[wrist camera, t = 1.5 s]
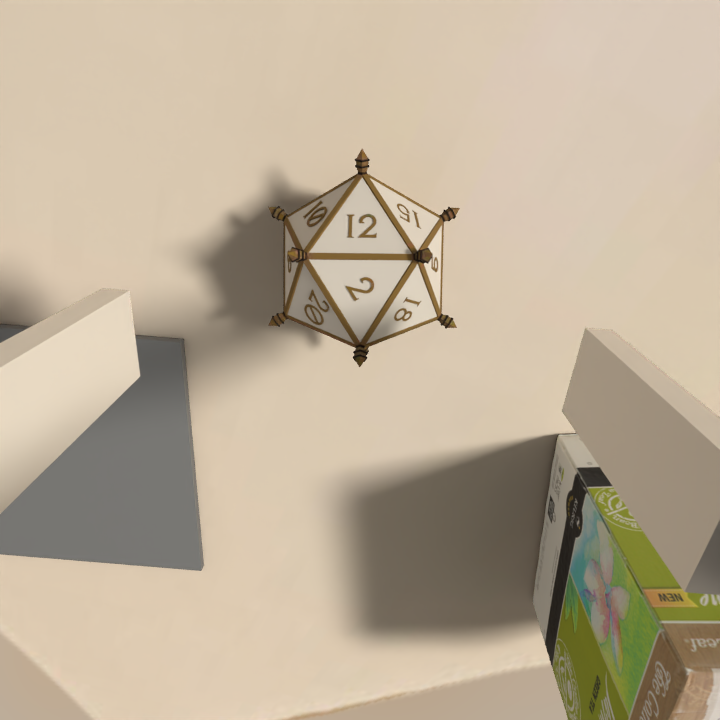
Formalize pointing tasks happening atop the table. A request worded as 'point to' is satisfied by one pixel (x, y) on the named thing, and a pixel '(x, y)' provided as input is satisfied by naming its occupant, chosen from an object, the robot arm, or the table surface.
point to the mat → (119, 478)
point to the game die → (363, 263)
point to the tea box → (618, 607)
